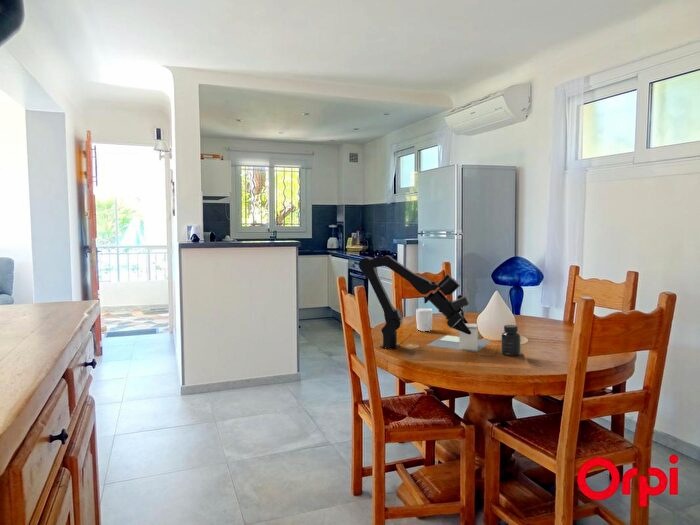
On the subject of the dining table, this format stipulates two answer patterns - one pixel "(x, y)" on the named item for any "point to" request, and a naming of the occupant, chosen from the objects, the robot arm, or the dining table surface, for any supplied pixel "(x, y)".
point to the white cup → (424, 319)
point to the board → (455, 343)
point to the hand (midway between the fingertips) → (470, 331)
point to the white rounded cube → (469, 338)
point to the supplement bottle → (510, 341)
